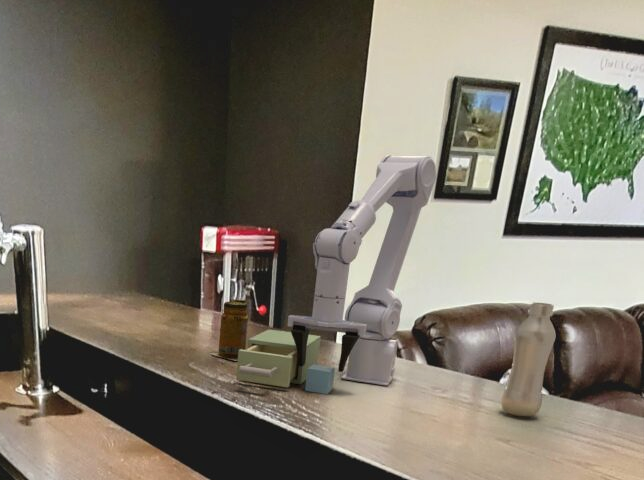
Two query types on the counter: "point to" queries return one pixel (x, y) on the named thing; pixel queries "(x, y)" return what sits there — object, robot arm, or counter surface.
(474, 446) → the counter surface
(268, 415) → the counter surface
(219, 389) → the counter surface
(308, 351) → the green drawer cabinet
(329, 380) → the light blue cube
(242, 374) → the green drawer
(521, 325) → the plastic bottle
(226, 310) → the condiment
